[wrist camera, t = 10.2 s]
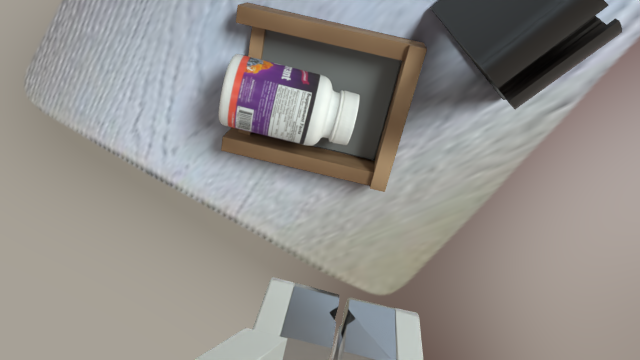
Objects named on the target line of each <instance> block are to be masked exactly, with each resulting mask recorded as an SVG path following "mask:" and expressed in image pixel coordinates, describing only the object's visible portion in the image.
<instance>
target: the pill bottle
mask: <svg viewBox="0 0 640 360" xmlns="http://www.w3.org/2000/svg"><path fill="white" fill-rule="evenodd" d="M358 107H359V94H356V93H352V92H348V91H343V90H341V91H340V93H338V92H335V91H333V89H332V84H331V81H330V80H329V79H328V78H327V77H325V76H322V75H319V74H316V73H312V72H308V71H304V70H300V69H296V68H292V67H288V66H284V65H280V64H276V63H272V62H268V61H265V60H261V59H257V58H253V57H249V56H244V55H239V54H237V55H234V56H233V58H232V59H231V61H230V63H229V65H228V68H227V71H226V74H225V78H224V82H223V86H222V91H221V97H220V104H219V121H220V123H221V124H222V125H225V126H229V127H232V128H236V129H241V130H245V131H249V132H253V133H257V134H261V135H265V136H270V137H274V138H278V139H282V140H286V141H289V142H294V143H298V144H302V145H307V146H312V145H314V144H316V143H317V142H318V141H319V140H320V138H322V137H325V138H329V142H331V141H332V143H337V144H342V145H347V144H348V142H349V140H350V138H351V135H352V132H353V129H354V125H355V121H356V117H357V113H358Z"/></svg>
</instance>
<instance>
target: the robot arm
mask: <svg viewBox="0 0 640 360" xmlns="http://www.w3.org/2000/svg"><path fill="white" fill-rule="evenodd" d="M338 303H339V295H338V294H334V293H331V292H327V291H324V290H319V289H316V288H312V287H309V286H305V285H301V284H298V283H295V286H294V283H293V282H289V281H286V280H282V279H278V278H274V277H272V279H271V280H270V283H269V285H268V288H267V291H266V293H265V296H264V299H263V302H262V305H261V307H260V310H259V313H258V315H257V318H256V321H255V324H254V326H253V329H248V328H245V329H243V330H241V331H240V332H238V333H236V334H235V335H233V336H232V337H230V338H228V339H227V340H225V341H224V342H222V343H221V344H219V345H217V346H216V347H214V348H212V349H211V350H209V351H207V352H206V353H204V354H203V355H201V356H199V357H198V358H196V359H195V360H329V357H330V354H331V350H332V346H333V339H334V332H335V326H336V322H335V316H336V312H337V309H338ZM332 360H423V353H422V342H421V332H420V323H419V316H418V314H417V313H415V312H411V311H406V310H402V309H397V308H391V307H386V306H382V305H378V304H374V303H370V302H366V301H362V300H358V299H353V298H348V300H347V303H346V306H345V309H344V314H343V322H342V325H341V326H340V327H339V330H338V333H337V337H336V341H335V345H334V349H333V354H332Z"/></svg>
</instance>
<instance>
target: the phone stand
mask: <svg viewBox="0 0 640 360" xmlns="http://www.w3.org/2000/svg"><path fill="white" fill-rule="evenodd" d="M607 6H608V4H607V3H606V2H605V1H604V0H439V1H438V2H437V3H435V4H434V5H433V6H432V7H431V9H432V11H433V12H434V13H435V14H436V16H437V17H438V18H439V19H440V21H441V22H442V23H443V24H444V26H445V27H446V28H447V29H448V31H449V32H450V33H451V35H452V36H453V37H454V38H455V40H456V41H457V42H458V43H459V45H460V46H461V47H462V48H463V50H464V51H465V52H466V53H467V55H468V56H469V57H470V59H471V60H472V61H473V62H474V64H475V65H476V66H477V67H478V69H479V70H480V71H481V72H482V74H483V75H484V76H485V77H486V79H487V80H488V81H489V83H490V84H491V85H492V86H493V88H494V89H495V90H496V91H497V93H498V94H499V95H500V96H501V98H502V99H503V100H505V99H506V100H507V101H508V102H509V103H510V104H511V106H512V107H513V108H514V109H516V108H518V107H519V106H520V105H522V104H523V103H525V102H526V101H527V100H529V99H530V98H532V97H533V96H534V95H536V94H537V93H538V92H540V91H541V90H543V89H544V88H545V87H547V86H548V85H550V84H551V83H552V82H554V81H555V80H557V79H558V78H559V77H561V76H562V75H563V74H565V73H566V72H568V71H569V70H570V69H572V68H573V67H575V66H576V65H577V64H579V63H580V62H581V61H583V60H584V59H586V58H587V57H588V56H590V55H591V54H593V53H594V52H595V51H597V50H598V49H599V48H601V47H602V46H604V45H605V44H606V43H608V42H609V41H611V40H612V39H613V38H615V37H616V36H618V35H619V34H620V33H621V32H622V27H621V24H620V22H619V20H617V19H614V20H613V21H611V22H610V23H609V24H607V25H606V24H605V23H604V22H602V21H601V20H600V19H599V18H597V17H596V16H595V15H596V14H598V13H599V12H600V11H602V10H603V9H604V8H606V7H607Z"/></svg>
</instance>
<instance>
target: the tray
mask: <svg viewBox="0 0 640 360" xmlns="http://www.w3.org/2000/svg"><path fill="white" fill-rule="evenodd" d="M236 23H240V24H245V25H249V26H252V31H251V39H250V46H249V54H248V56H249V57H253V58H257V59H261V60H262V56H263V49H264V42H265V35H266V30H271V31H275V32H280V33H284V34H288V35H293V36H297V37H301V38H306V39H310V40H314V41H319V42H323V43H328V44H332V45H336V46H341V47H345V48H349V49H354V50H358V51H362V52H367V53H371V54H375V55H380V56H384V57H389V58H393V59H397V60H402V63H401V67H400V70H399V74H398V77H397V81H396V85H395V88H394V92H393V96H392V99H391V103H390V106H389V110H388V114H387V117H386V121H385V125H384V128H383V132H382V135H381V139H380V143H379V146H378V150H377V154H376V157H375V161H373V160H369V159H365V158H361V157H356V156H352V155H348V154H344V153H339V152H335V151H331V150H327V149H323V148H318V147H314V146H307V145H302V144H298V143H294V142H289V141H286V140H282V139H278V138H274V137H270V136H265V135H261V134H257V133H253V132H249V131H245V130H241V129H236V128H231V129H230V130H229V131H228V132H227V133H226V134H225V135H224V136H223V139H222V148H221V150H222V151H226V152H230V153H234V154H239V155H243V156H247V157H251V158H255V159H260V160H264V161H268V162H272V163H276V164H281V165H285V166H289V167H293V168H297V169H302V170H306V171H310V172H314V173H319V174H323V175H327V176H331V177H335V178H340V179H344V180H348V181H352V182H356V183H361V184H365V185H369V186H370V189H374V190H379V191H383V192H385V189H386V186H387V182H388V179H389V176H390V172H391V169H392V166H393V162H394V159H395V155H396V152H397V149H398V145H399V142H400V139H401V135H402V132H403V128H404V125H405V122H406V118H407V115H408V112H409V108H410V105H411V101H412V98H413V95H414V91H415V88H416V85H417V81H418V78H419V74H420V71H421V68H422V64H423V61H424V58H425V54H426V51H427V48H426V46H425V44H424V43H422V42H418V41H414V40H409V39H405V38H401V37H396V36H392V35H387V34H383V33H379V32H374V31H370V30H365V29H361V28H357V27H352V26H348V25H343V24H339V23H335V22H330V21H326V20H322V19H317V18H313V17H308V16H304V15H300V14H295V13H291V12H286V11H282V10H278V9H273V8H269V7H265V6H260V5H256V4H251V3H244V4H240V5H238V8H237V17H236Z"/></svg>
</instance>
